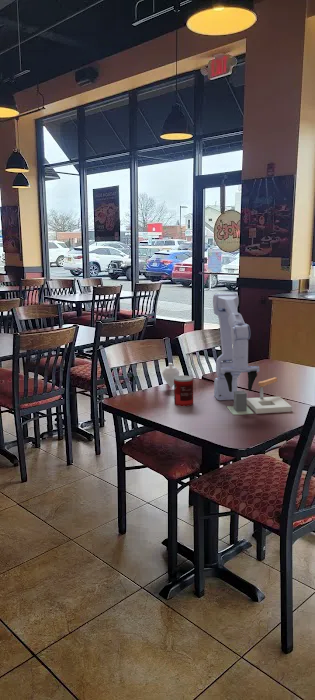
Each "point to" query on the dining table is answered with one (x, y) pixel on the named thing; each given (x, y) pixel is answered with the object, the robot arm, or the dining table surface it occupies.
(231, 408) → the mat
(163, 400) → the dining table surface
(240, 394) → the gray rectangular block
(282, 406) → the socket block
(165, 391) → the dining table surface
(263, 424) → the dining table surface
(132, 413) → the dining table surface
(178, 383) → the canned food
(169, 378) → the spinning top
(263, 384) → the bar
